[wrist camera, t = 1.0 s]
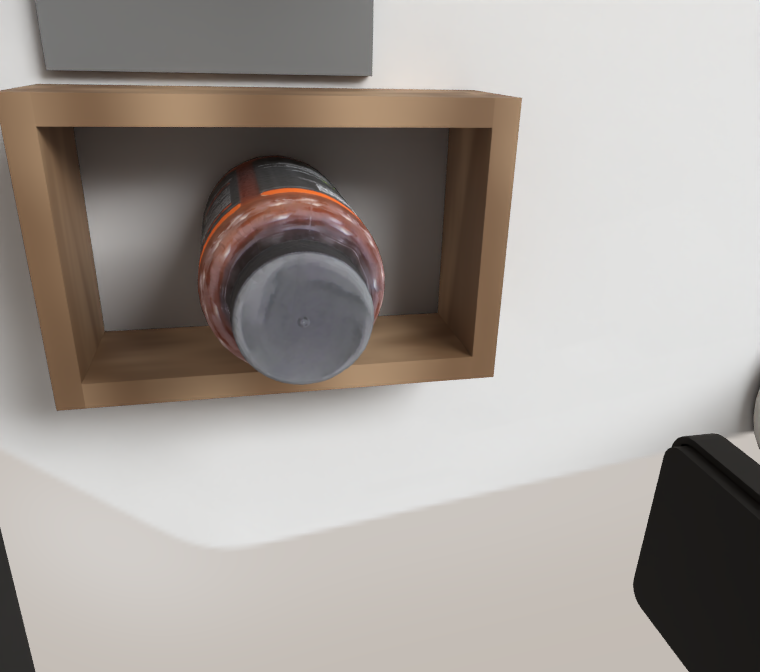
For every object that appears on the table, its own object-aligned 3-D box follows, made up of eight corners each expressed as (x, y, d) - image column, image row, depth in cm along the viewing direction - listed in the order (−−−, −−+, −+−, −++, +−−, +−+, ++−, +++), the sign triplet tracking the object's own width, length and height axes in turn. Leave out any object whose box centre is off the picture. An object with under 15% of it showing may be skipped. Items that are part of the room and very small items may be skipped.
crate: (474, 90, 28) (521, 98, 23) (456, 330, 32) (493, 376, 27) (37, 84, 24) (-6, 91, 20) (83, 353, 29) (56, 410, 24)
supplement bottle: (207, 291, 29) (195, 423, 19) (199, 151, 26) (180, 214, 16) (342, 288, 30) (400, 410, 20) (346, 154, 28) (414, 215, 17)
